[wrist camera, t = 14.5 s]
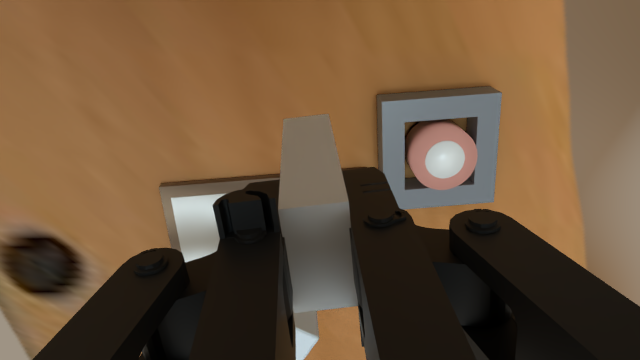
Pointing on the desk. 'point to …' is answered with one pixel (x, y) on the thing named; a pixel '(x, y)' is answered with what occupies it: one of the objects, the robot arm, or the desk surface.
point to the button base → (437, 105)
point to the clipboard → (199, 211)
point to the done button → (440, 153)
